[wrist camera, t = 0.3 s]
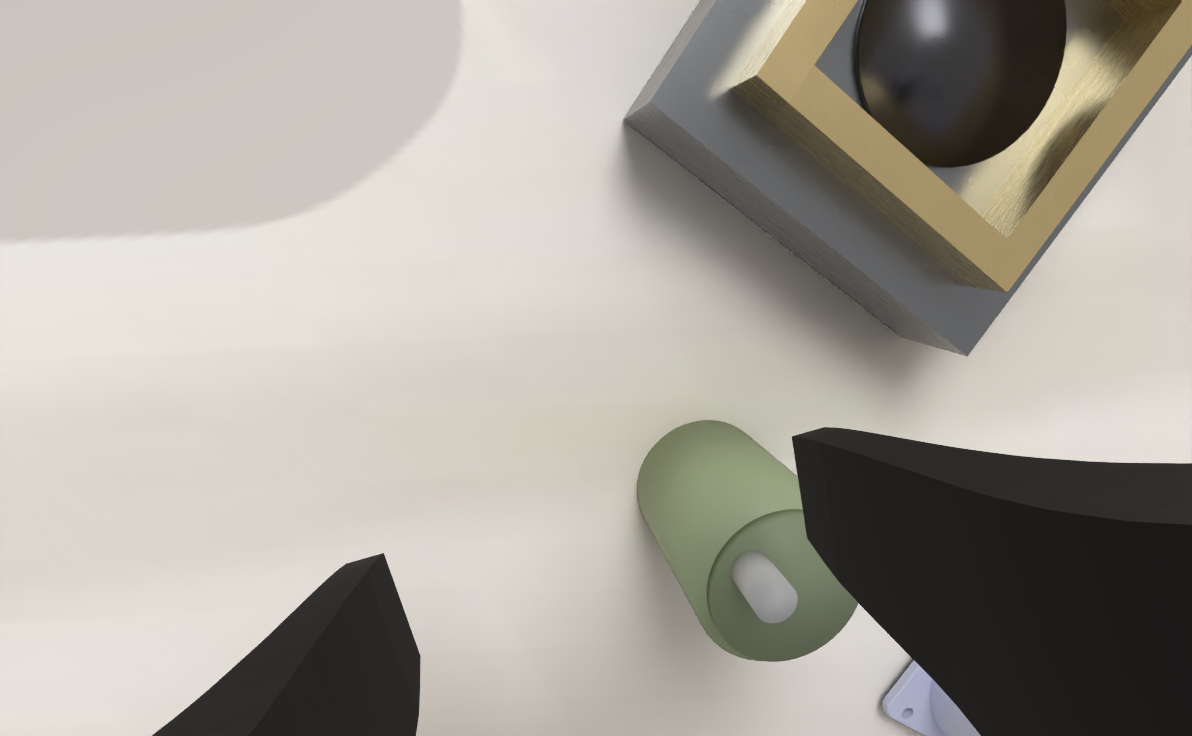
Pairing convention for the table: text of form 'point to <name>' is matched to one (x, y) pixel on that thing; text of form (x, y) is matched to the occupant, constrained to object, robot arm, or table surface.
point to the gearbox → (912, 134)
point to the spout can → (740, 543)
